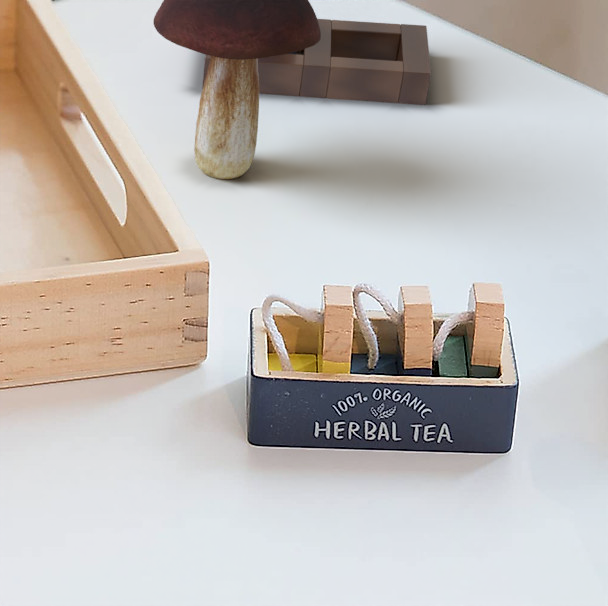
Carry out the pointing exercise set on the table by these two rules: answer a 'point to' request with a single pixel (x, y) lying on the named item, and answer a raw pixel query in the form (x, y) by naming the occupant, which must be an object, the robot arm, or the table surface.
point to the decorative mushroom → (234, 67)
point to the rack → (353, 64)
